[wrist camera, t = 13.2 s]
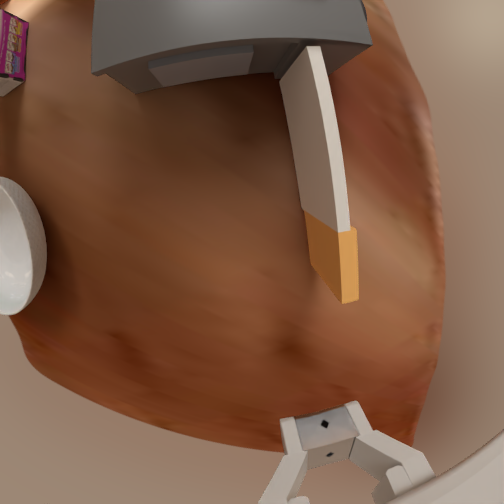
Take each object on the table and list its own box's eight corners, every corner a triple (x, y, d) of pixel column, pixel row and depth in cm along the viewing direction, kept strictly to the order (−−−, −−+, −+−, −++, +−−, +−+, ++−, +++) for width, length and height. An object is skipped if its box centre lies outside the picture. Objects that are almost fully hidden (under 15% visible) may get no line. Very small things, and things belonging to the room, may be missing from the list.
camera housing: (132, 26, 20) (94, -25, 9) (321, 8, 22) (361, -43, 10) (136, 100, 24) (86, 70, 13) (336, 78, 25) (394, 45, 14)
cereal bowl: (52, 157, 24) (16, 159, 18) (77, 289, 30) (51, 317, 23) (-24, 187, 23) (-55, 196, 16) (0, 292, 28) (-25, 314, 22)
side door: (279, 81, 24) (306, 46, 15) (293, 80, 24) (326, 46, 15) (307, 261, 31) (341, 304, 21) (320, 258, 31) (358, 299, 21)
